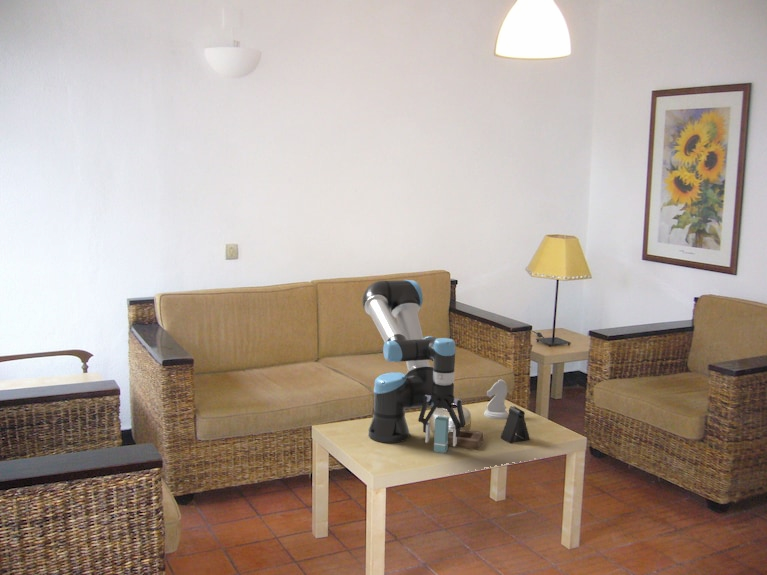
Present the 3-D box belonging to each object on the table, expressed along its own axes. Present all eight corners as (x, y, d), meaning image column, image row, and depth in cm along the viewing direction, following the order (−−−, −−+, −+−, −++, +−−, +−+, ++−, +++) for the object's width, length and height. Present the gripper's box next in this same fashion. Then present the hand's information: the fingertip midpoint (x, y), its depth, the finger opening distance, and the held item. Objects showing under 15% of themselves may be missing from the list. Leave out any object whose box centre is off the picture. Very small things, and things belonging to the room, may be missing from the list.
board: (444, 444, 286) (445, 437, 285) (451, 436, 295) (451, 428, 295) (477, 449, 282) (477, 441, 282) (483, 440, 291) (483, 432, 291)
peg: (433, 451, 279) (434, 419, 277) (436, 447, 283) (437, 415, 281) (444, 453, 278) (446, 420, 276) (447, 449, 281) (448, 417, 280)
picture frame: (520, 435, 298) (522, 404, 296) (529, 440, 293) (531, 409, 291) (500, 438, 294) (502, 407, 292) (509, 443, 289) (511, 412, 287)
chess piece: (482, 411, 325) (484, 376, 323) (506, 411, 326) (507, 376, 323) (485, 418, 316) (487, 383, 313) (510, 419, 316) (512, 383, 313)
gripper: (410, 381, 276) (408, 442, 280) (471, 388, 269) (468, 451, 273) (416, 376, 283) (414, 435, 287) (476, 383, 276) (473, 443, 280)
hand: (441, 443), depth 280 cm, fingers open, 9 cm apart
